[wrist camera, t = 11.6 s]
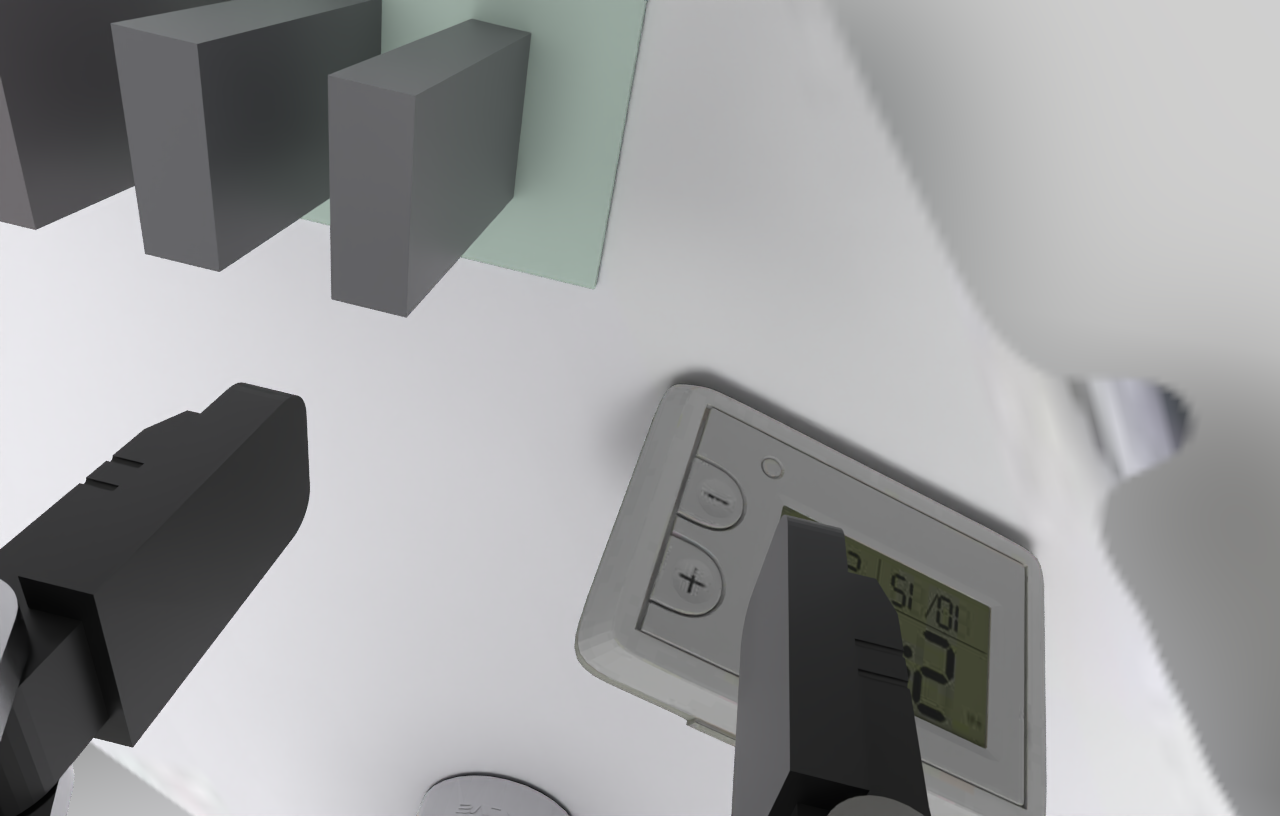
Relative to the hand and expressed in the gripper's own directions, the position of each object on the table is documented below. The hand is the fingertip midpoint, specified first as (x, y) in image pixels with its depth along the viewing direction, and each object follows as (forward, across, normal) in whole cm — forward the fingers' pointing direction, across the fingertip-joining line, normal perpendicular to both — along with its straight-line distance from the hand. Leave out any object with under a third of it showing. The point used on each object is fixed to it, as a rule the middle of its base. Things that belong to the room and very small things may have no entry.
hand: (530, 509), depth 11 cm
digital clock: (+18, -8, +12) cm, 23 cm away
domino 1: (+17, +15, 0) cm, 23 cm away
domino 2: (+17, +10, 0) cm, 20 cm away
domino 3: (+17, +6, 0) cm, 18 cm away
